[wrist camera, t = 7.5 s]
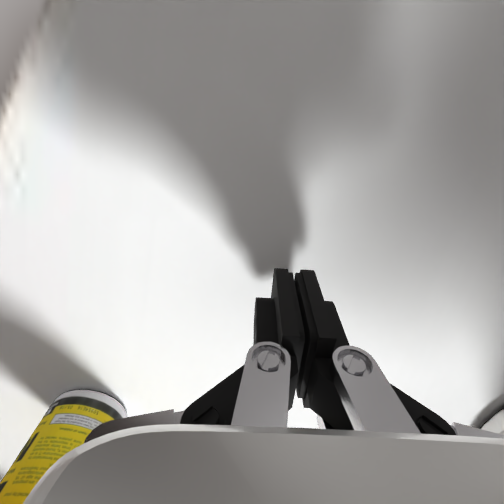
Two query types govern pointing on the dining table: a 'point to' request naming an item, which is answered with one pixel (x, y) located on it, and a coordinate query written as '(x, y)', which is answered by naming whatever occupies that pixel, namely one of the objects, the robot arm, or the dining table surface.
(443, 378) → the dining table surface
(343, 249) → the dining table surface
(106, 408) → the supplement bottle
